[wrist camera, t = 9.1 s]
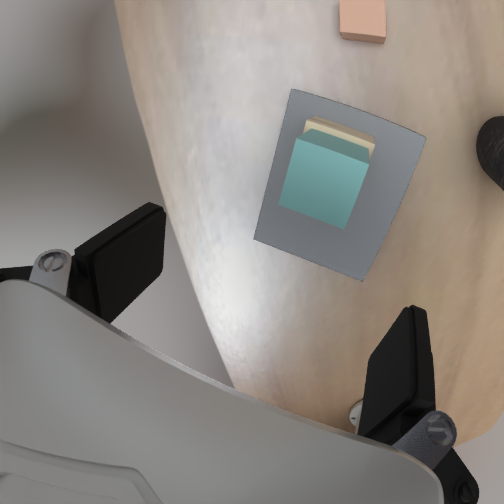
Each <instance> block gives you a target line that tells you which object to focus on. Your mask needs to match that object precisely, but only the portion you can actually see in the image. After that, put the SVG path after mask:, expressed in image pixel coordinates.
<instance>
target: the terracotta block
mask: <svg viewBox="0 0 504 504" xmlns="http://www.w3.org/2000/svg"><path fill="white" fill-rule="evenodd" d="M339 1H340V33H341V35H342V38H343V39H348V40H358V41H366V42H374V43H381V44H384V41H385V38H386V12H385V0H339Z"/></svg>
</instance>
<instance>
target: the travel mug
mask: <svg viewBox="0 0 504 504" xmlns="http://www.w3.org/2000/svg"><path fill="white" fill-rule="evenodd" d="M477 155H478V159H479V162H480V164H481V166H482V168H483V170H484V171H485V172H486V173H487V174H488V176H489V177H490V178H491V179H492V180H493V181H494V182H495V183H497V184H498V185H499V186H500V187H501V188H502V189H503V190H504V116H498V117H494V118H492V119H490V120H488V121H487V122H486V123H485V124H484V125H483V127H482V128H481V130H480V132H479V135H478V139H477Z"/></svg>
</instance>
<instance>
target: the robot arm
mask: <svg viewBox="0 0 504 504" xmlns="http://www.w3.org/2000/svg"><path fill="white" fill-rule="evenodd" d="M165 225H166V213H165V212H164V210H163V207H161V206H159V205H156V204H153V203H151V202H148V203H146V204H144V205H143V206H142V207H139V208H138V209H136V210H135V211H133V212H131V213H130V214H128V215H126V216H125V217H123V218H122V219H120V220H118V221H117V222H115V223H114V224H112V225H111V226H109V227H107V228H106V229H104V230H103V231H101V232H100V233H98V234H97V235H95V236H94V237H92V238H91V239H89V240H88V241H86V242H85V243H83V244H82V245H80V246H79V247H77V248H76V249H75V255H74V256H72V257H71V255H70V254H69V253H68V252H66V251H64V250H61V249H53V250H48V251H45V252H44V253H42V254H40V255H39V256H38V258H37V259H36V260H35V263H34V266H24V267H13V268H1V269H0V504H477V501H478V498H479V488H478V484H477V482H476V480H475V479H474V477H473V476H472V475H471V473H470V472H469V470H468V469H467V467H466V466H465V464H464V463H463V462H462V460H461V459H460V457H459V456H458V455H457V453H456V452H455V450H454V449H453V448H452V446H453V445H454V443H455V441H456V437H457V431H456V427H455V424H454V422H453V421H452V419H451V418H450V417H449V416H448V415H447V414H446V413H444V412H442V411H437V410H436V405H435V381H434V367H433V356H432V352H431V345H430V336H429V328H428V320H427V313H426V310H424V309H422V308H419V307H417V306H414V305H411V306H410V307H409V308H408V307H405V308H404V309H403V310H402V312H401V313H400V315H399V316H398V318H397V319H396V321H395V322H394V323H393V325H392V326H391V328H390V329H389V331H388V332H387V334H386V335H385V336H384V338H383V339H382V340H381V342H380V343H379V345H378V346H377V347H376V349H375V350H374V351H373V353H372V354H371V356H370V358H369V361H368V367H367V375H366V383H365V390H364V397H363V400H361V401H360V402H358V403H356V404H355V405H354V406H353V407H352V409H351V411H350V416H349V418H350V421H351V423H352V424H353V425H354V426H355V427H356V429H355V434H353V433H350V432H347V431H344V430H341V429H338V428H335V427H332V426H329V425H326V424H323V423H320V422H317V421H314V420H311V419H308V418H306V417H303V416H300V415H297V414H295V413H292V412H289V411H286V410H284V409H281V408H279V407H276V406H274V405H271V404H269V403H266V402H264V401H261V400H259V399H256V398H254V397H252V396H249V395H247V394H245V393H242V392H240V391H238V390H235V389H233V388H231V387H229V386H226V385H224V384H222V383H220V382H218V381H216V380H213V379H211V378H209V377H207V376H205V375H203V374H201V373H199V372H197V371H195V370H193V369H191V368H188V367H187V366H185V365H182V364H181V363H179V362H177V361H175V360H173V359H171V358H169V357H167V356H165V355H163V354H162V353H160V352H158V351H156V350H154V349H152V348H151V347H149V346H147V345H145V344H143V343H141V342H140V341H138V340H136V339H134V338H133V337H131V336H129V335H128V334H126V333H124V332H122V331H121V330H119V329H117V328H116V327H114V326H112V325H111V324H110V323H111V322H112V321H113V320H114V319H115V318H116V317H117V316H118V315H119V314H120V313H121V312H122V311H123V310H124V309H125V308H126V307H128V305H130V303H132V302H133V301H134V299H136V298H137V297H138V296H139V295H140V294H141V293H142V292H143V291H144V290H145V289H146V288H147V287H148V286H149V285H150V284H151V283H152V282H153V281H154V280H155V279H156V278H157V277H159V275H160V274H161V272H162V269H163V255H164V239H165Z"/></svg>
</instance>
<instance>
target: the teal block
mask: <svg viewBox="0 0 504 504" xmlns="http://www.w3.org/2000/svg"><path fill="white" fill-rule="evenodd" d="M368 167H369V149H368V148H366V147H363V146H361V145H358V144H355V143H353V142H350V141H347V140H345V139H342V138H339V137H336V136H333V135H330V134H327V133H325V132H322V131H319V130H316V129H312V128H311V129H310V130H308V131H307V132H305V133H304V134H302V135H301V136H299V137H298V138H296V142H295V145H294V149H293V153H292V156H291V160H290V163H289V167H288V171H287V174H286V178H285V181H284V185H283V189H282V192H281V196H280V199H279V203H278V205H280V206H283V207H286V208H288V209H291V210H294V211H297V212H299V213H302V214H305V215H307V216H310V217H313V218H315V219H318V220H321V221H323V222H326V223H328V224H331V225H333V226H336V227H339V228H341V229H345V227H346V224H347V222H348V219H349V217H350V214H351V212H352V209H353V207H354V204H355V201H356V199H357V196H358V194H359V191H360V188H361V186H362V183H363V180H364V178H365V175H366V172H367V169H368Z"/></svg>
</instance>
